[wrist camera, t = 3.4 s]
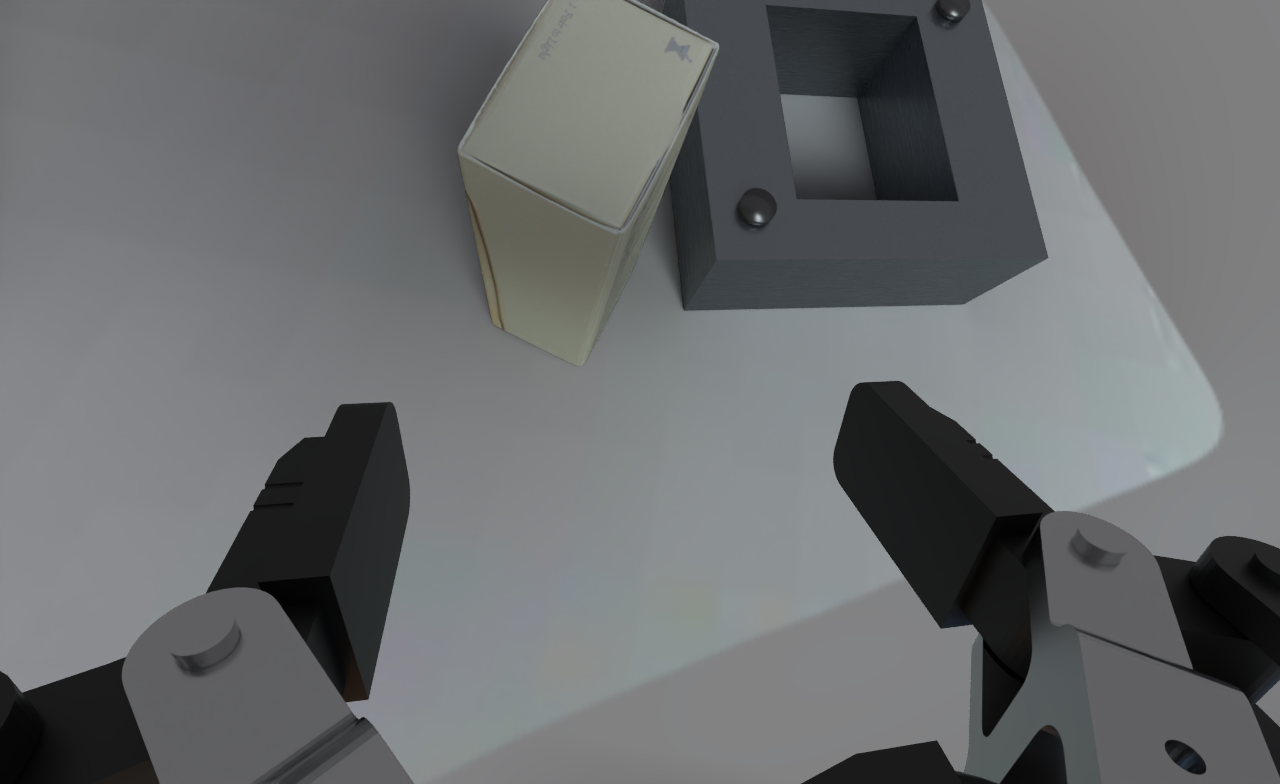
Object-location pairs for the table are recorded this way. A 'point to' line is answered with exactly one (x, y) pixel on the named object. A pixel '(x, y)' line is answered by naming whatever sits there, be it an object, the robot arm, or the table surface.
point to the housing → (898, 150)
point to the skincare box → (577, 163)
